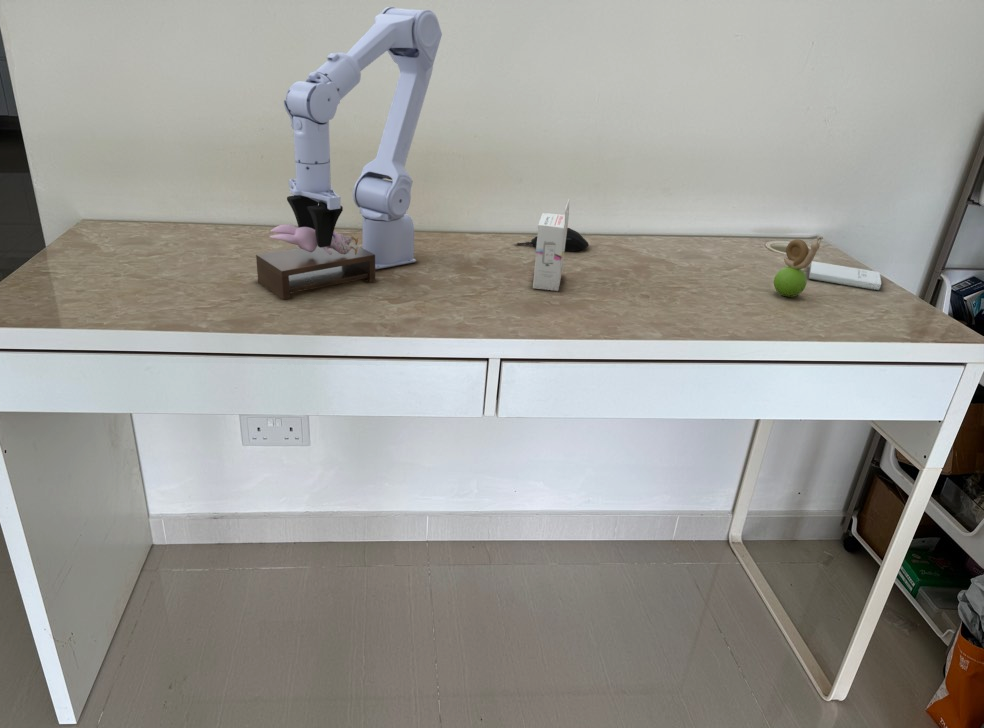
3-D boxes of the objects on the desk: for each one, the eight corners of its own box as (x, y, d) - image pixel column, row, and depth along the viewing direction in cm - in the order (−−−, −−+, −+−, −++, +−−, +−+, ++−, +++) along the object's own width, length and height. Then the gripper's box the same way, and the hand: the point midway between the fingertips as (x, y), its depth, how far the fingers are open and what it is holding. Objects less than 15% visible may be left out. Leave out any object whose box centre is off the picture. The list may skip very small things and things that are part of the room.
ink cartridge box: (535, 273, 145) (543, 195, 138) (561, 276, 145) (571, 198, 138) (530, 288, 138) (539, 207, 131) (558, 292, 137) (568, 209, 130)
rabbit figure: (356, 243, 138) (271, 229, 134) (361, 218, 133) (273, 202, 130) (355, 268, 134) (267, 253, 131) (361, 242, 130) (270, 227, 126)
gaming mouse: (516, 240, 164) (517, 221, 162) (585, 243, 164) (588, 225, 162) (518, 249, 158) (519, 230, 157) (589, 252, 159) (592, 233, 157)
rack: (347, 265, 145) (346, 239, 142) (375, 281, 138) (375, 254, 136) (258, 282, 135) (255, 254, 133) (283, 299, 128) (281, 271, 126)
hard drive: (809, 268, 156) (877, 278, 152) (808, 279, 149) (879, 291, 145) (811, 260, 155) (879, 270, 151) (810, 271, 149) (881, 283, 144)
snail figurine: (792, 304, 137) (810, 238, 131) (764, 292, 142) (780, 228, 136) (813, 300, 139) (832, 235, 133) (784, 289, 144) (801, 225, 138)
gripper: (270, 154, 129) (275, 234, 136) (311, 171, 119) (315, 256, 126) (308, 151, 133) (311, 228, 140) (351, 167, 123) (352, 250, 130)
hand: (315, 241), depth 133 cm, fingers closed on rabbit figure, 5 cm apart
